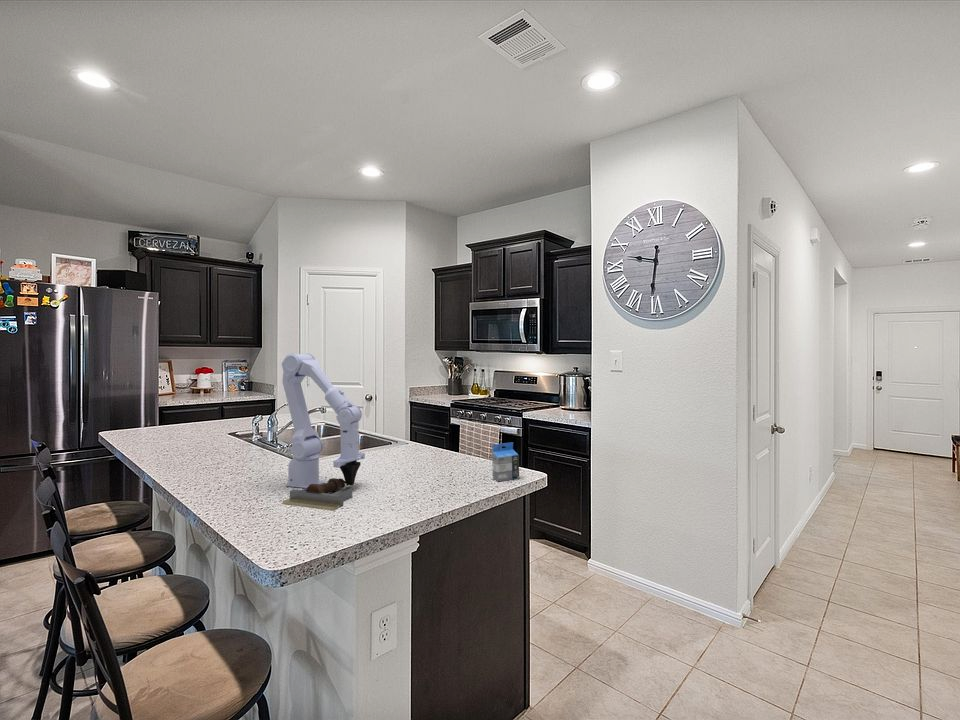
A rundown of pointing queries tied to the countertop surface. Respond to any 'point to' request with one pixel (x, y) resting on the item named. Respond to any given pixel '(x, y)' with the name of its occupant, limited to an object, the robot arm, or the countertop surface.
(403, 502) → the countertop surface
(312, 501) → the grey shallow rectangular tray
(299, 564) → the countertop surface
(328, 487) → the bolt
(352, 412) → the robot arm
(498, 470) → the label tape box
